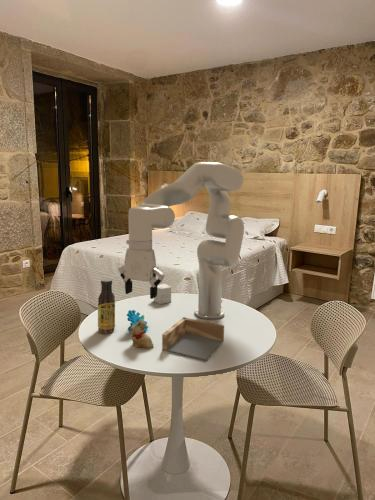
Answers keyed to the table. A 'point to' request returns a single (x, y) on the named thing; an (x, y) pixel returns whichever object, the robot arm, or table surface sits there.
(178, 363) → the table surface
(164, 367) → the table surface
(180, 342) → the slate mat
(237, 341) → the table surface
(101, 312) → the sauce bottle
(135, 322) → the gear
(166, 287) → the skincare box
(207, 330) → the corner rails
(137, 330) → the tan rounded piece
